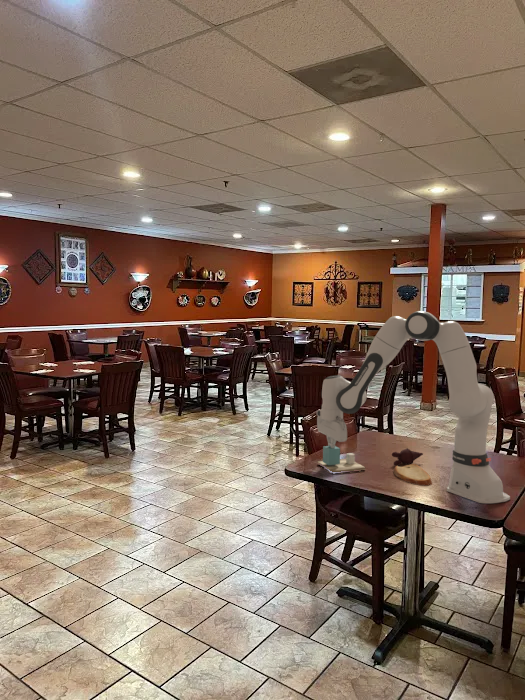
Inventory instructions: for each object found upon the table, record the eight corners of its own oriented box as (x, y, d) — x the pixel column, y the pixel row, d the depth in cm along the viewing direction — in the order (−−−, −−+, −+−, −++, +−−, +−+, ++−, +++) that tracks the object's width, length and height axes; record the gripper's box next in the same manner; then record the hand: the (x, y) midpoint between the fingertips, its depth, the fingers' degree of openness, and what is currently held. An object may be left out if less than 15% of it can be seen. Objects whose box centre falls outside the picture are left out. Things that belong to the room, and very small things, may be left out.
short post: (354, 463, 230) (354, 454, 230) (349, 464, 229) (349, 455, 229) (351, 462, 232) (351, 452, 232) (346, 462, 231) (346, 453, 231)
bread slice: (429, 487, 206) (429, 478, 206) (383, 479, 216) (384, 469, 216) (442, 475, 221) (442, 466, 221) (399, 468, 231) (399, 459, 231)
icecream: (416, 445, 242) (386, 451, 237) (426, 445, 235) (395, 451, 230) (419, 461, 241) (389, 467, 236) (429, 461, 234) (398, 467, 229)
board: (365, 470, 225) (365, 467, 225) (332, 474, 220) (332, 470, 220) (348, 461, 238) (348, 458, 238) (317, 464, 233) (317, 461, 233)
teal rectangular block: (339, 464, 226) (340, 448, 225) (328, 465, 224) (328, 449, 223) (333, 460, 231) (334, 445, 230) (322, 461, 229) (323, 446, 228)
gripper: (351, 419, 217) (350, 453, 218) (327, 409, 236) (327, 440, 237) (337, 420, 215) (336, 454, 216) (314, 410, 234) (314, 442, 235)
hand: (331, 447), depth 227 cm, fingers closed, pressing on teal rectangular block
